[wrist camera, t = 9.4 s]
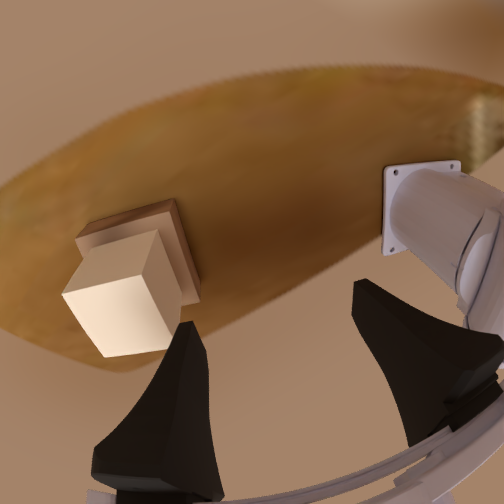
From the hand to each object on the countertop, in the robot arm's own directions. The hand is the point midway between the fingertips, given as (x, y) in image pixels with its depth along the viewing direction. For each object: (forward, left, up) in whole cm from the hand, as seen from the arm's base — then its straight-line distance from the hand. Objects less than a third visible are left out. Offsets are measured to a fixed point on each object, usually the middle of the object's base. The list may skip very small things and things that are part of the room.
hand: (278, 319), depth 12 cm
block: (+8, 0, -7) cm, 11 cm away
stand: (+8, 0, -9) cm, 12 cm away
